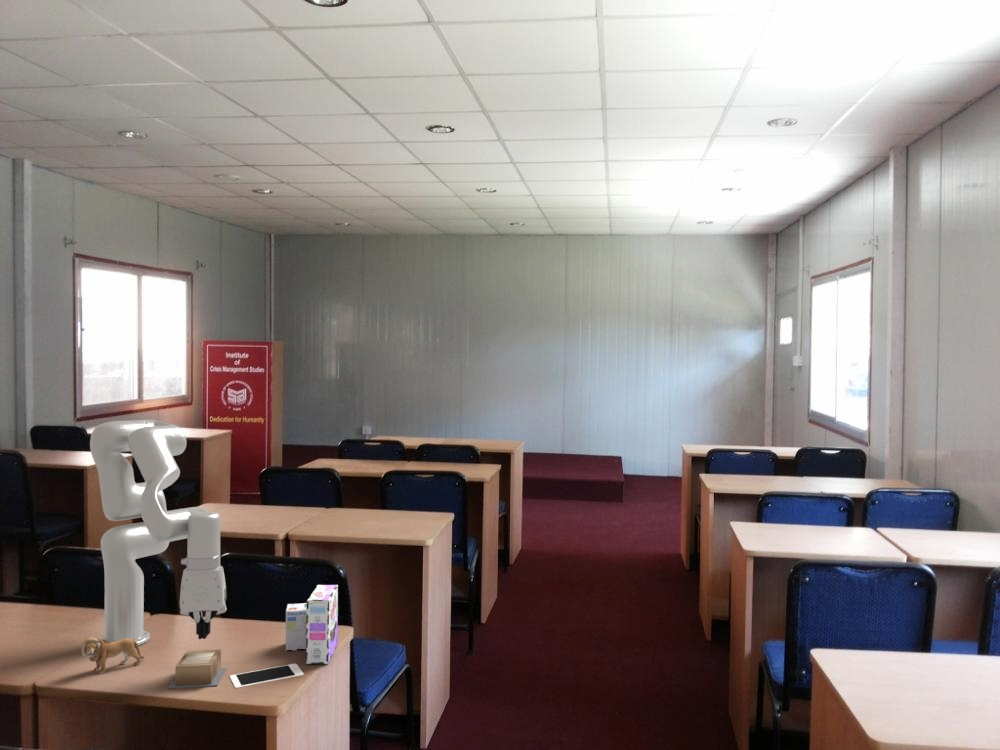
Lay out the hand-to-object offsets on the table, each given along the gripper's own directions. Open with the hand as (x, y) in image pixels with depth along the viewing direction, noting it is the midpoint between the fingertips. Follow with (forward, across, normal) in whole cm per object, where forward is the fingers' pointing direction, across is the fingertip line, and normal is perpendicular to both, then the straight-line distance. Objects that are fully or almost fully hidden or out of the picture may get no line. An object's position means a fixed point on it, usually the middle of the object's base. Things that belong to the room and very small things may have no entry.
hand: (203, 637), depth 183 cm
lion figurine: (+9, -22, +4) cm, 24 cm away
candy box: (+8, +28, +7) cm, 30 cm away
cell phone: (+9, +16, -5) cm, 19 cm away
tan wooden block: (+6, 0, +1) cm, 6 cm away
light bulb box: (+8, +23, +14) cm, 28 cm away
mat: (+8, 0, -5) cm, 10 cm away
